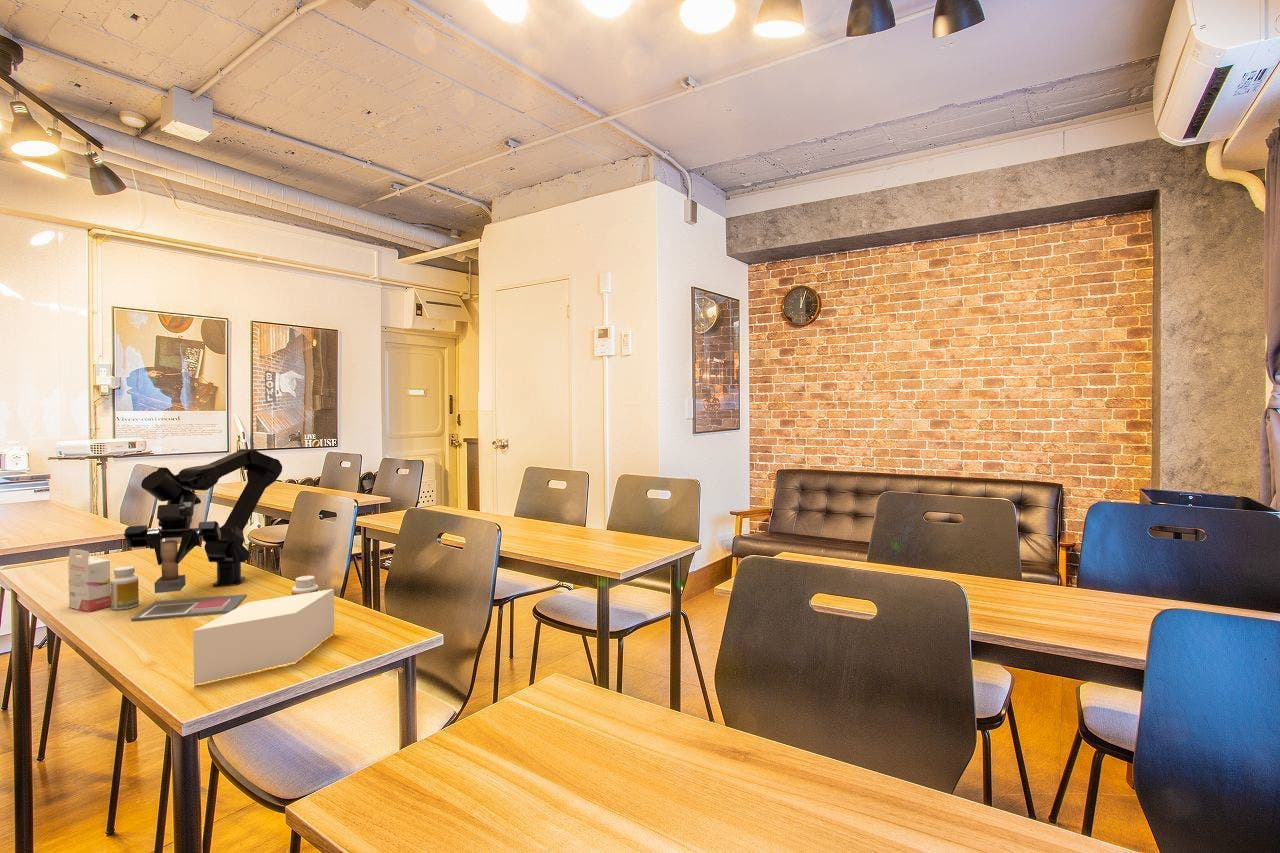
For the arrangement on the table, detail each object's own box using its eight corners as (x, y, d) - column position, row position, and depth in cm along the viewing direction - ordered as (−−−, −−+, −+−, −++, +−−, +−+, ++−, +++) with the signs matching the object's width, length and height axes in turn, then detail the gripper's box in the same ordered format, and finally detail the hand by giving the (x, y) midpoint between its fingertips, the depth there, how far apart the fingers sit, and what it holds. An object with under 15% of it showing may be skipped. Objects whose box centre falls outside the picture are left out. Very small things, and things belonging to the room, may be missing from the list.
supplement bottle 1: (144, 604, 159) (143, 565, 159) (125, 610, 154) (124, 571, 153) (124, 603, 160) (124, 565, 159) (104, 610, 154) (104, 570, 154)
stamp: (160, 586, 154) (159, 540, 154) (185, 584, 156) (184, 538, 156) (154, 593, 150) (153, 545, 149) (180, 590, 152) (179, 543, 151)
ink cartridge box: (112, 606, 157) (111, 547, 156) (88, 612, 152) (87, 551, 152) (91, 602, 160) (90, 544, 160) (67, 608, 156) (66, 548, 155)
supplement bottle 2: (311, 625, 144) (311, 580, 144) (286, 625, 144) (286, 581, 144) (323, 617, 150) (322, 574, 150) (299, 617, 150) (298, 574, 150)
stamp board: (155, 603, 160) (155, 596, 159) (246, 596, 166) (246, 589, 166) (131, 621, 146) (131, 613, 146) (231, 612, 153) (230, 605, 153)
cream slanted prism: (169, 680, 116) (169, 624, 115) (311, 630, 142) (311, 584, 142) (219, 695, 110) (218, 637, 109) (357, 640, 136) (357, 593, 136)
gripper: (125, 493, 152) (109, 548, 142) (217, 489, 159) (208, 541, 150) (137, 520, 159) (122, 574, 150) (224, 515, 167) (216, 566, 157)
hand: (168, 563), depth 151 cm, fingers closed on stamp, 3 cm apart
